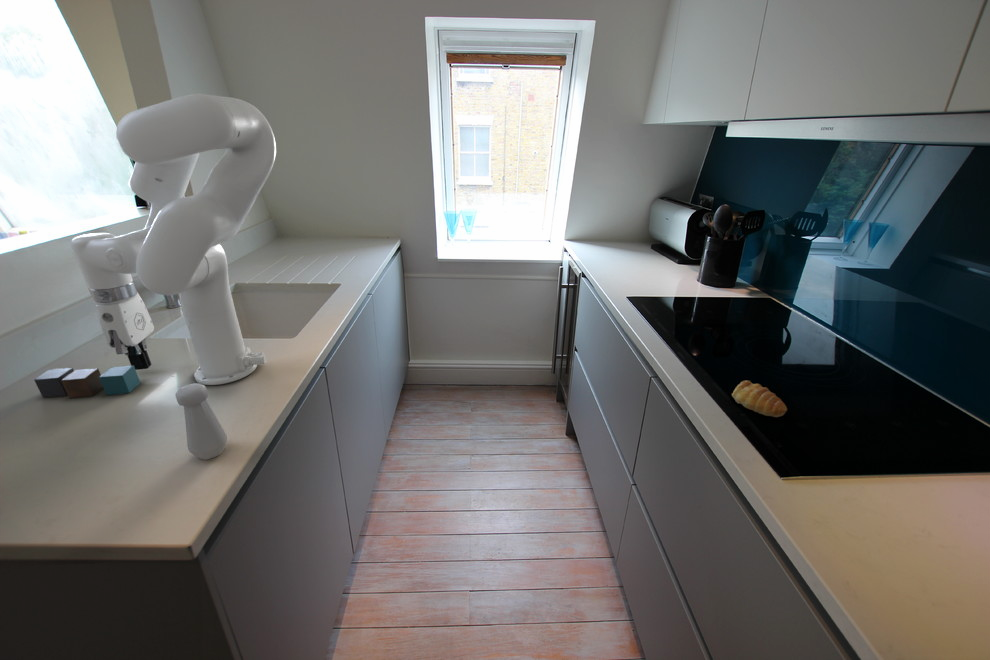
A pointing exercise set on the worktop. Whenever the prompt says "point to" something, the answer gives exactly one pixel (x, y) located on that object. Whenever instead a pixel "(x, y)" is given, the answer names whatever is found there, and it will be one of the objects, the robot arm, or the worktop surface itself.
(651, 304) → the worktop surface
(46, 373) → the charcoal block
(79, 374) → the walnut block
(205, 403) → the salt shaker
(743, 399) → the pastry
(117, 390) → the teal block
